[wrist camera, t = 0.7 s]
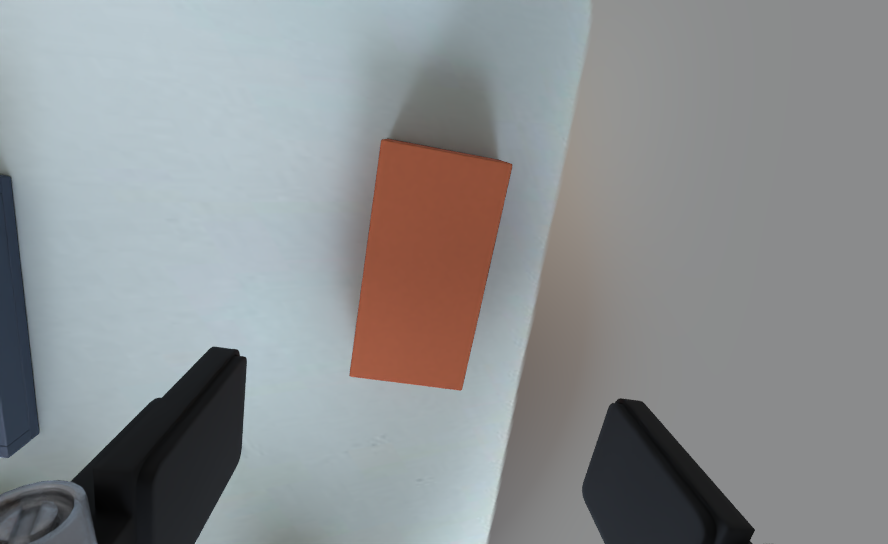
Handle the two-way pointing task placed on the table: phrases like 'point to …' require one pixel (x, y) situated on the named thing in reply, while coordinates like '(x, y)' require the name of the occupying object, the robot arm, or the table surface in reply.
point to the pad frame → (13, 339)
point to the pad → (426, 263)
